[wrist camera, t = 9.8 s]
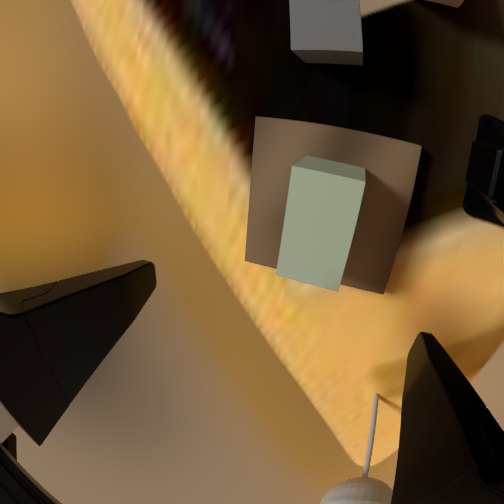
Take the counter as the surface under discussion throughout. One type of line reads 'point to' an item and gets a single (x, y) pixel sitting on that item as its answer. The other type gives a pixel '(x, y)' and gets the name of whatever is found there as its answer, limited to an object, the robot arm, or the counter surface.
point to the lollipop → (362, 480)
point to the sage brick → (320, 221)
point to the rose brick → (449, 2)
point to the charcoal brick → (326, 31)
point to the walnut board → (373, 200)
